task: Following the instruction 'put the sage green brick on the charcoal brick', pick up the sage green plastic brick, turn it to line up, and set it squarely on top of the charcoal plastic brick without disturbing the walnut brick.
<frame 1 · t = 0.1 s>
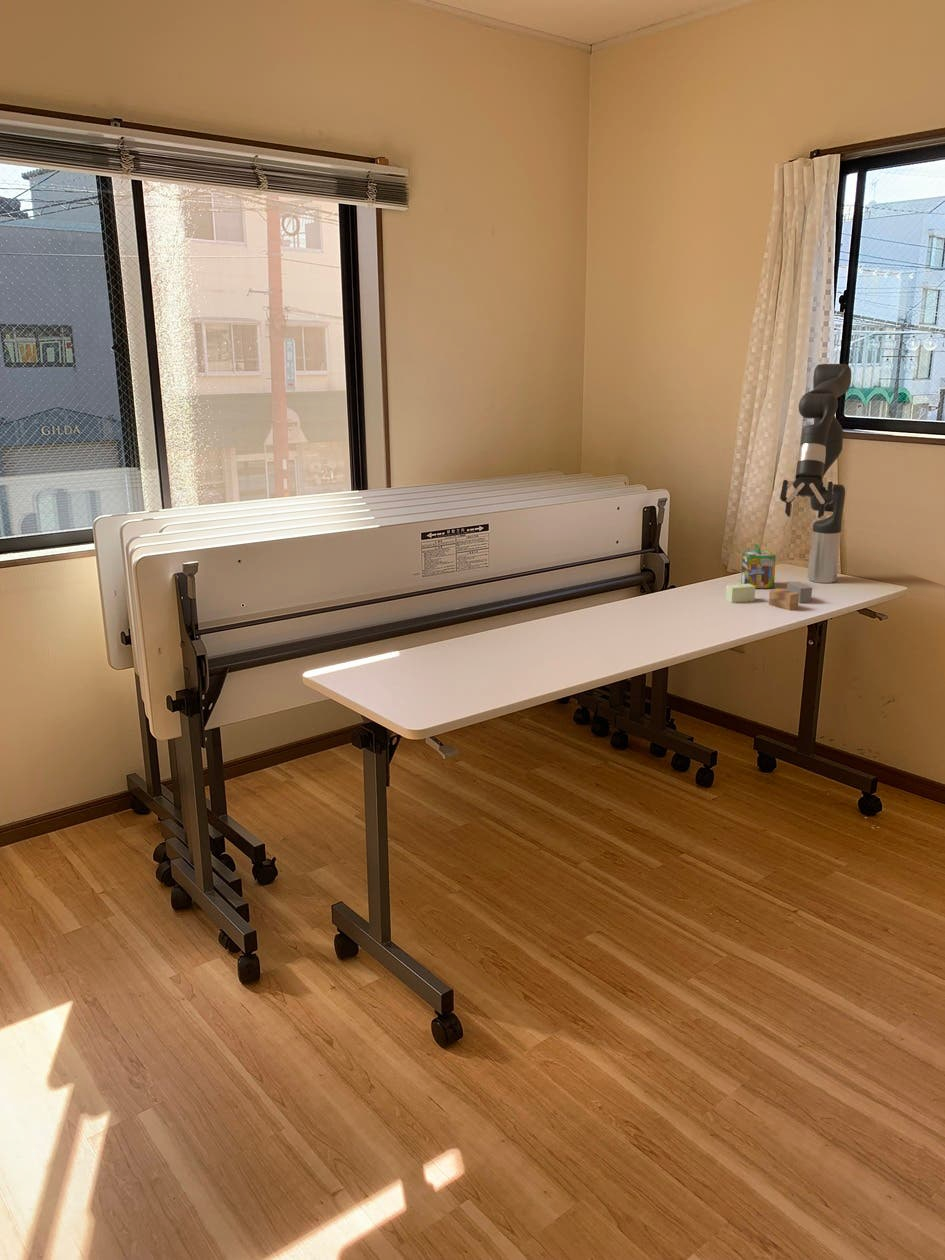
hand: (803, 517, 283), 31 cm above the table, tool tilted 20°, fingers open, 8 cm apart
charcoal brick: (798, 600, 316), on the table
chalk box: (757, 586, 335), on the table
sage brick: (739, 600, 316), on the table
walnut brick: (783, 607, 308), on the table
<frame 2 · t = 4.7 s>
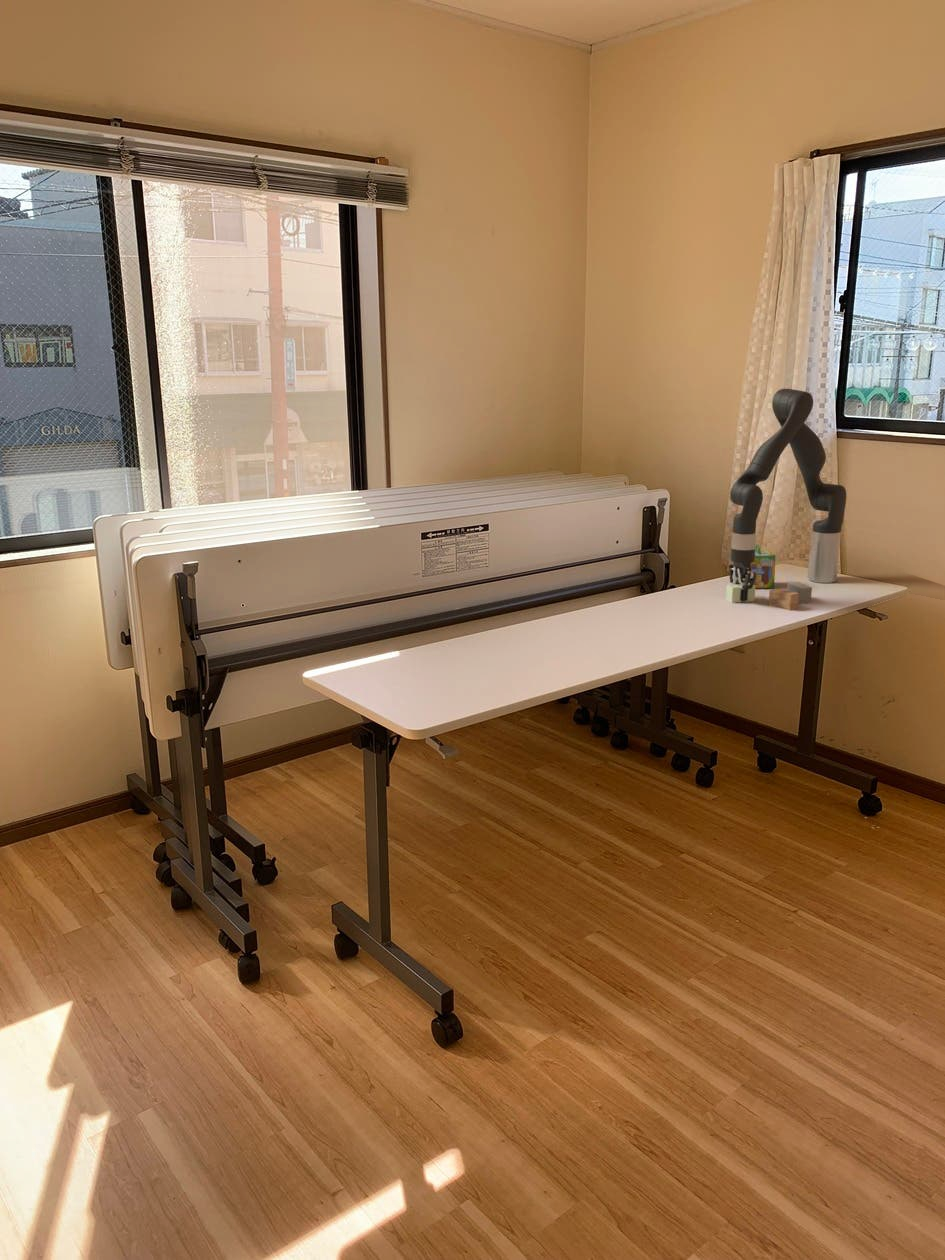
hand: (740, 598, 316), 1 cm above the table, tool pointing down, fingers closed on sage brick, 4 cm apart
sage brick: (740, 600, 316), on the table, touching gripper
everything else where it was.
when the fingers open (7 cm above the table, at t = 10.7 s): sage brick drops 2 cm, resting on charcoal brick.
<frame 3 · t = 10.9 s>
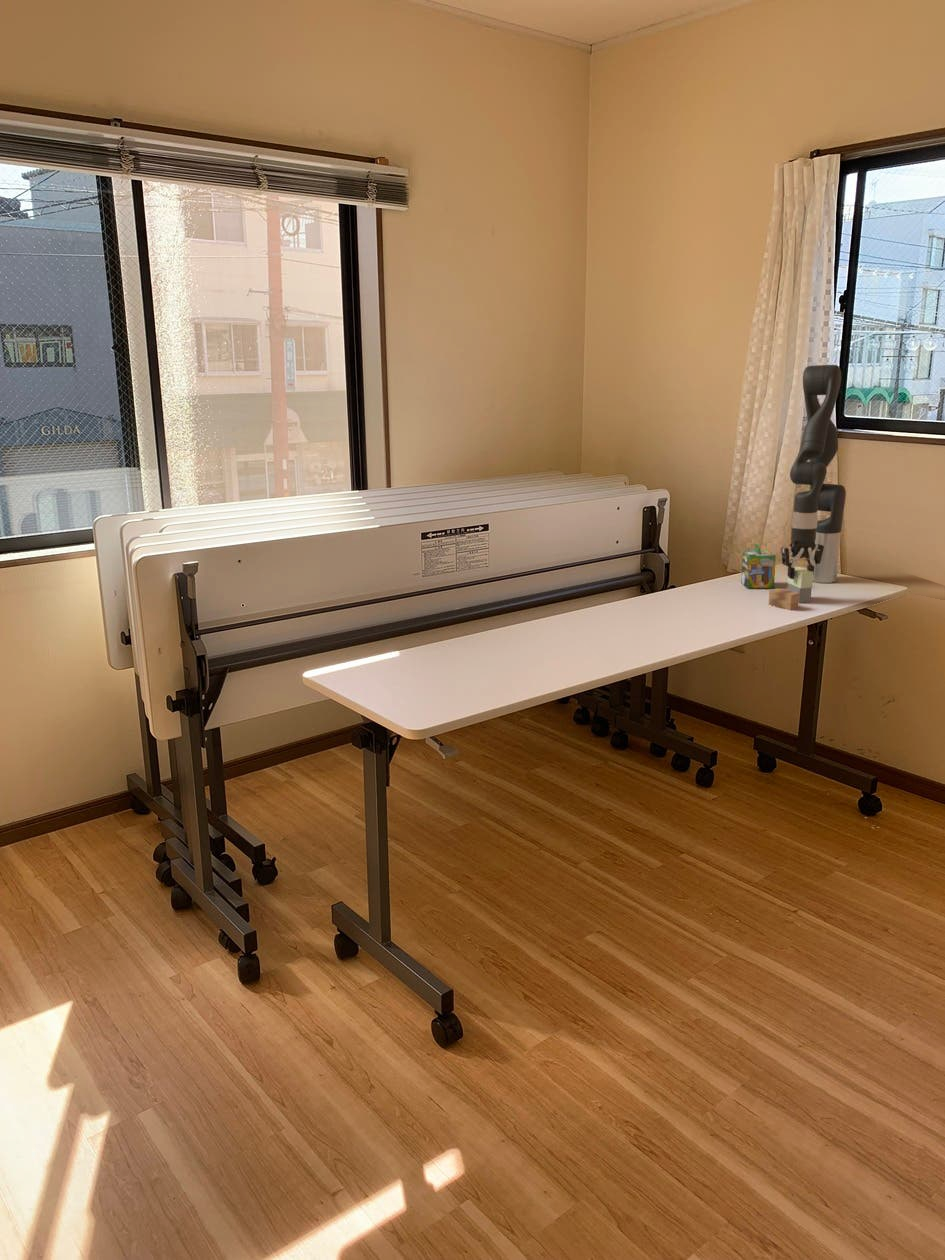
hand: (800, 577, 313), 7 cm above the table, tool pointing down, fingers open, 6 cm apart
charcoal brick: (798, 600, 316), on the table, touching sage brick
sage brick: (799, 585, 314), point 5 cm above the table, touching charcoal brick
everything else where it was.
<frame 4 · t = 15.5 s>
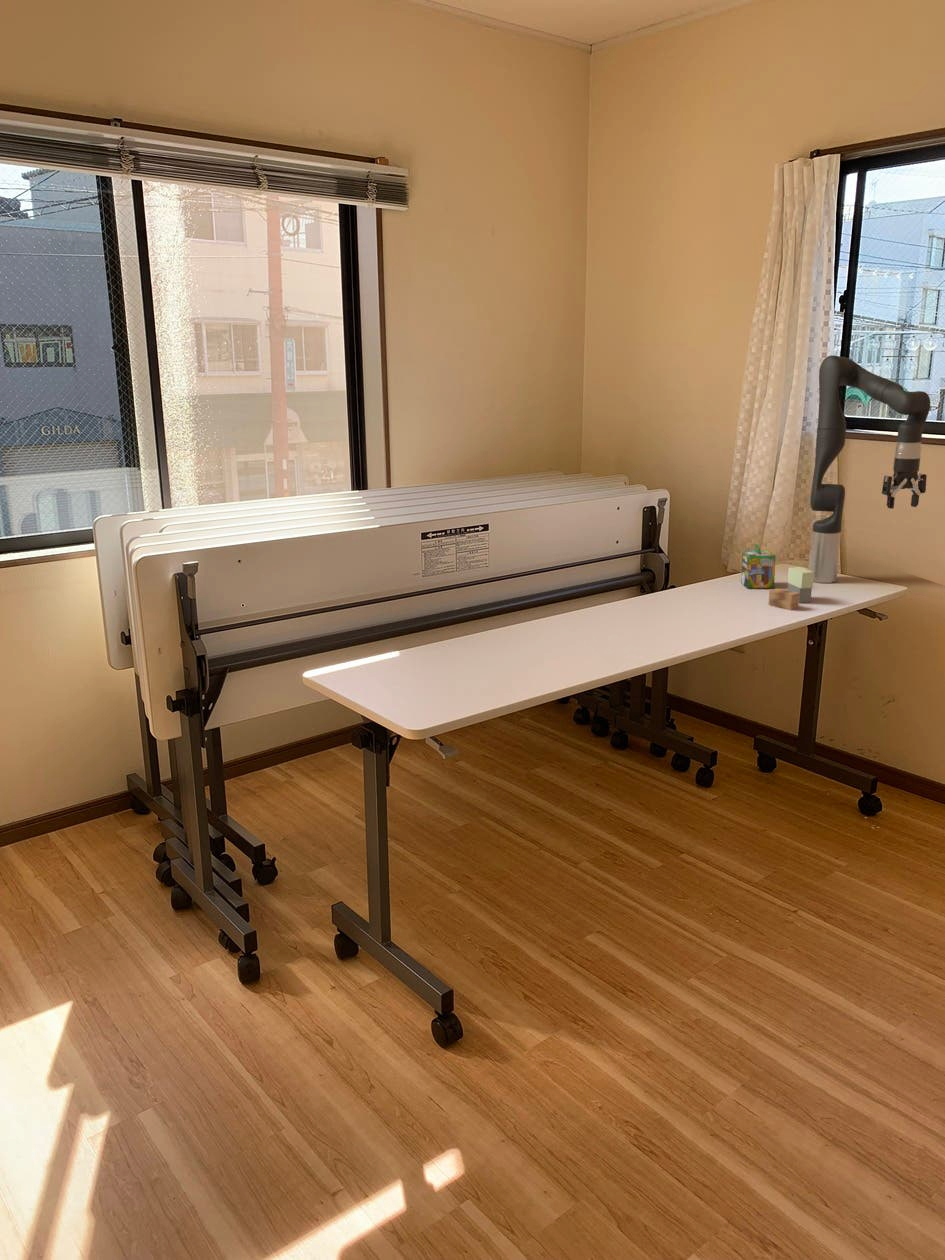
hand: (902, 507, 314), 28 cm above the table, tool pointing down, fingers open, 8 cm apart
nothing on the table moved.
at the end: sage brick 0.0 cm off-centre on the charcoal brick, point 5.0 cm above the charcoal brick's base; walnut brick moved 0.2 cm from its start; charcoal brick moved 0.2 cm from its start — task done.
